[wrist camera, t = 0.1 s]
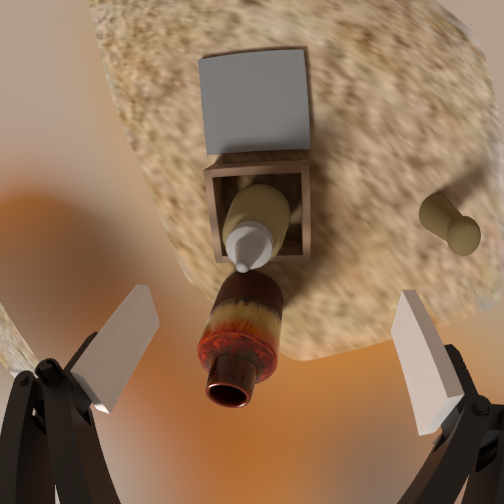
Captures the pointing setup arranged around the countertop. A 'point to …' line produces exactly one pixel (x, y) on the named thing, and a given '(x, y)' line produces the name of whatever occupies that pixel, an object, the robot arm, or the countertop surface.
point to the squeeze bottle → (256, 226)
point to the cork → (450, 224)
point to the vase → (241, 338)
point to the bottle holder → (215, 172)
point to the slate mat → (255, 101)
